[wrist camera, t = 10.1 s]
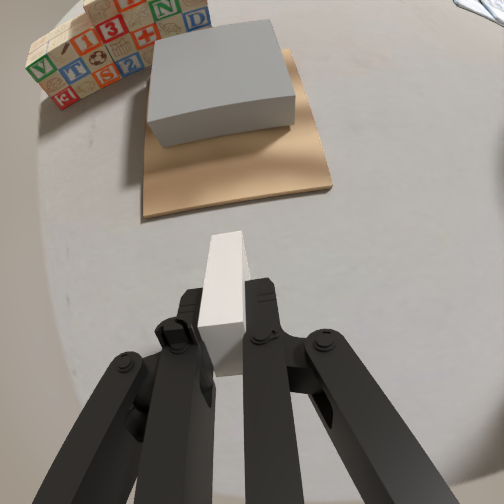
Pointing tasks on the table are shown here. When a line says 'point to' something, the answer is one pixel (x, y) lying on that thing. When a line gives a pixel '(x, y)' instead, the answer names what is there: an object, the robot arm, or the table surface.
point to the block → (219, 83)
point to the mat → (236, 163)
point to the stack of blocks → (108, 44)
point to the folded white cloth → (485, 9)
